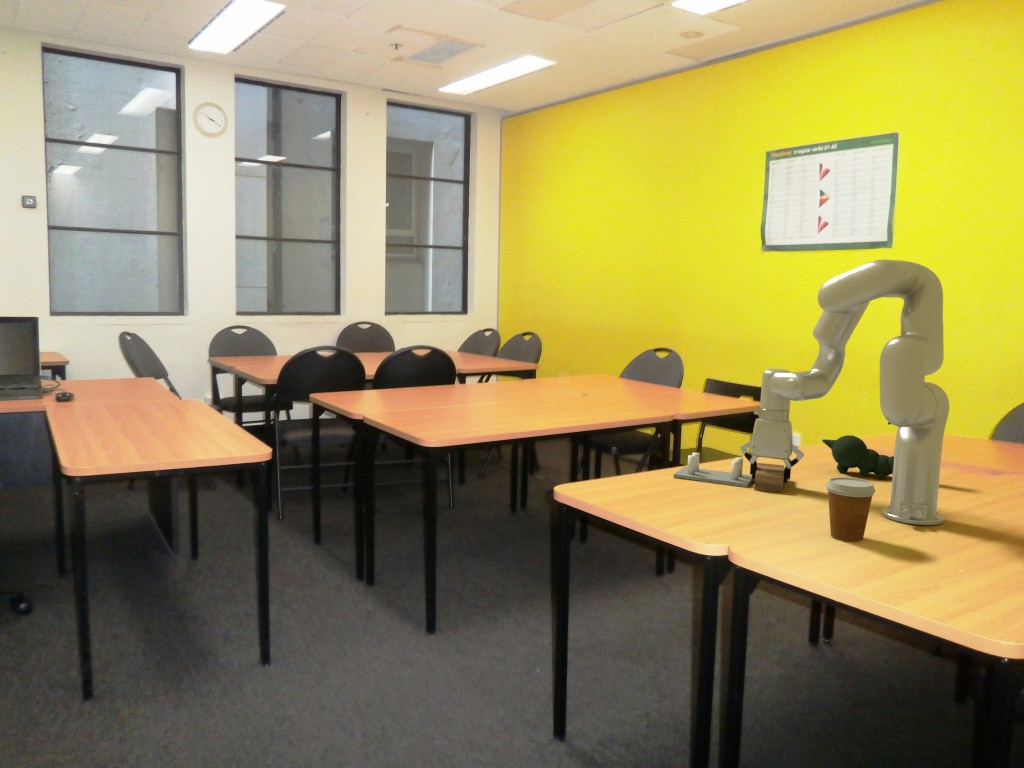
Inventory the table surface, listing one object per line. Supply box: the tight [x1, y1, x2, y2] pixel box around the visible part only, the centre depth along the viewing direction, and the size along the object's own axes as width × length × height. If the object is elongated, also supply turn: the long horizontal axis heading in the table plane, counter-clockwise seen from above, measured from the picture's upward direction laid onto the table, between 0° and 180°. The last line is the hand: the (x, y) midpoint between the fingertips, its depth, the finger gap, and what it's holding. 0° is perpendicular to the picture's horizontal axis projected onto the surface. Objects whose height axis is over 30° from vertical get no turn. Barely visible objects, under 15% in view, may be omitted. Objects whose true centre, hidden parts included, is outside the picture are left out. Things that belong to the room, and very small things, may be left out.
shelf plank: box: [753, 462, 785, 494], centre depth 206 cm, size 16×7×4 cm, turn 160°
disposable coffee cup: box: [825, 476, 876, 543], centre depth 160 cm, size 10×10×12 cm
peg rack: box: [673, 452, 755, 488], centre depth 211 cm, size 11×20×6 cm, turn 62°
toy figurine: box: [821, 421, 894, 480], centre depth 218 cm, size 9×19×25 cm
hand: (769, 479), depth 206 cm, fingers closed on shelf plank, 7 cm apart
